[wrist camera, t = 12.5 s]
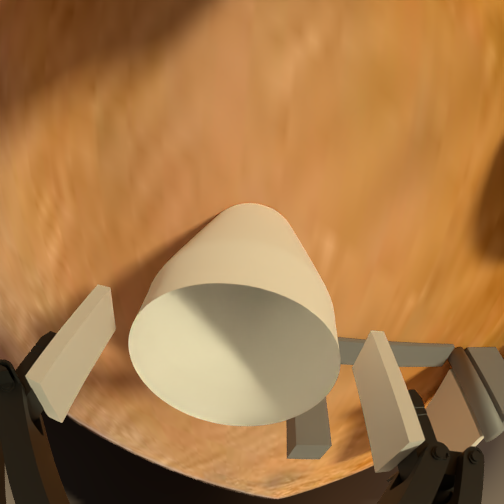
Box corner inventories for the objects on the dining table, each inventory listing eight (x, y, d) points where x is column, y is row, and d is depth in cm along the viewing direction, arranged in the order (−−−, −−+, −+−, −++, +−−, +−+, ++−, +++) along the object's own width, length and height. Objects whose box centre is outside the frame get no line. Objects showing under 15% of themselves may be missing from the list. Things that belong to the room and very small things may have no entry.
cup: (217, 307, 25) (186, 432, 14) (171, 209, 21) (85, 307, 10) (324, 280, 23) (355, 409, 12) (292, 168, 19) (319, 244, 8)
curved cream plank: (449, 369, 26) (480, 436, 17) (464, 365, 26) (495, 429, 17) (405, 437, 33) (418, 491, 24) (418, 434, 33) (433, 486, 24)
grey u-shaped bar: (291, 331, 25) (297, 456, 15) (497, 343, 26) (538, 412, 15) (284, 354, 27) (285, 471, 16) (485, 361, 27) (521, 429, 16)
